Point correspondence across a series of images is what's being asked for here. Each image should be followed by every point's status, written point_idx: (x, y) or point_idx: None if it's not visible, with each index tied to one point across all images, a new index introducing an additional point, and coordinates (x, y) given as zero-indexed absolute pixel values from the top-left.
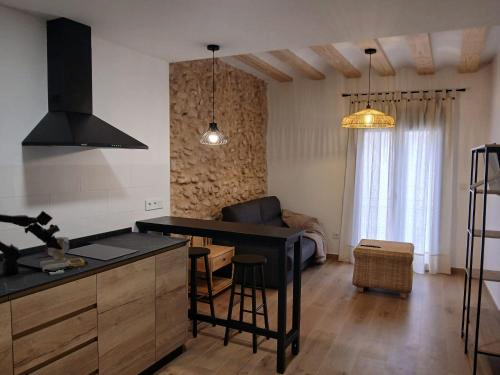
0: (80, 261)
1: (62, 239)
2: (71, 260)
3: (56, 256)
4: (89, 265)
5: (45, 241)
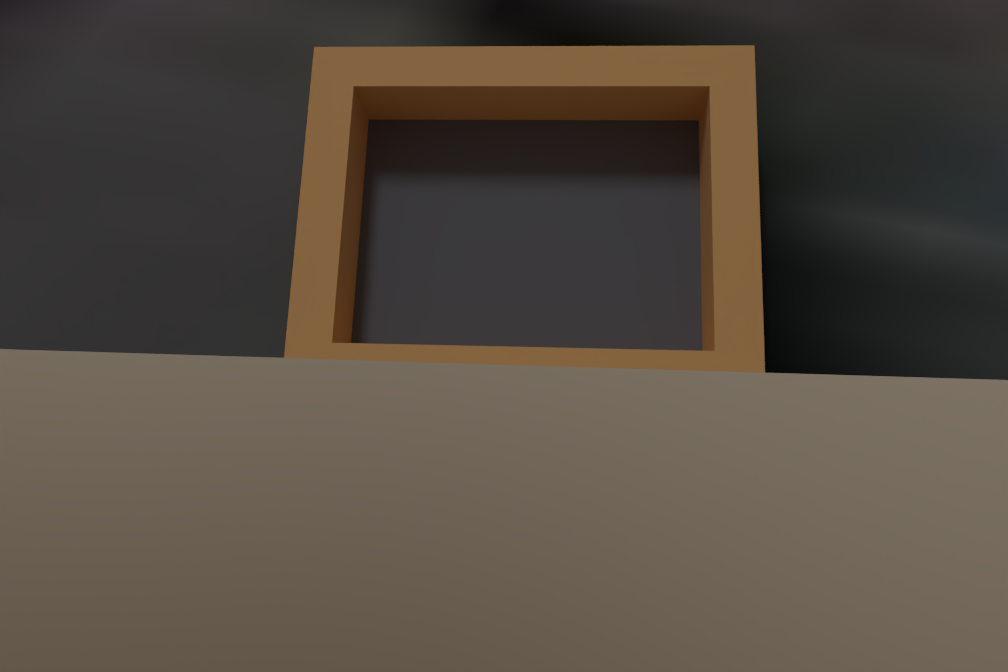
0: (475, 109)
1: (983, 603)
2: (343, 281)
3: None
4: (804, 7)
5: None
